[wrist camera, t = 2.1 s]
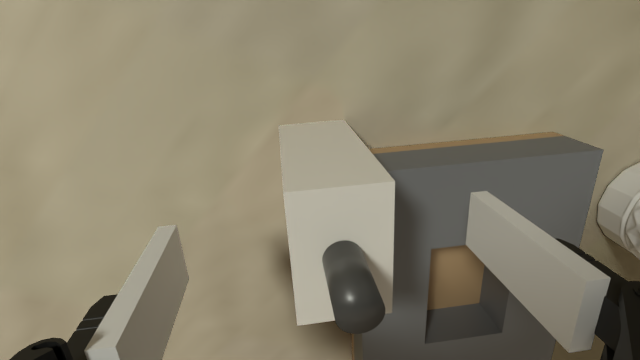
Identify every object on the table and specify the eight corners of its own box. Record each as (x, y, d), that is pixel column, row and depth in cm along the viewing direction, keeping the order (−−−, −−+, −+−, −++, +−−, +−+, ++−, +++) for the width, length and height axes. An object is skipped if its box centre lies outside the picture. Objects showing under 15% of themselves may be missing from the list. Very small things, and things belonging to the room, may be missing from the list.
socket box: (345, 151, 23) (359, 173, 19) (553, 131, 24) (603, 149, 21) (352, 361, 30) (363, 407, 26) (513, 337, 31) (546, 378, 27)
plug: (278, 125, 22) (286, 236, 10) (344, 119, 22) (428, 221, 10) (287, 214, 24) (302, 391, 12) (347, 207, 25) (418, 374, 13)
